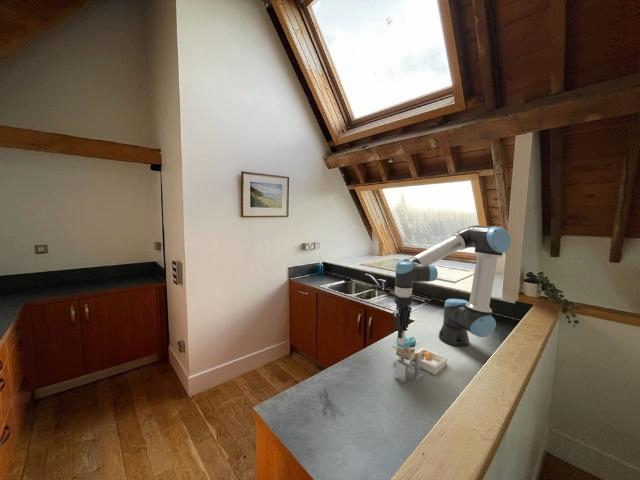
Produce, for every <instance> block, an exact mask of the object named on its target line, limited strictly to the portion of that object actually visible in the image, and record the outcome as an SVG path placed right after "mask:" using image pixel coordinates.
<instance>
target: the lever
mask: <svg viewBox="0 0 640 480" xmlns="http://www.w3.org/2000/svg"><path fill="white" fill-rule="evenodd" d="M391 348H393V349H396V352H395V355H396V356H398V357H399V356H400V357H402V358H404V360H406V361H410V360H417V359H418V358H419V359H421V360H424V356H425V354H424V353H415V352H416V349H415V348H408V349H404V348H401V347H399V346H397V345H392V346H391Z"/></svg>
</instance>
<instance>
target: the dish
mask: <svg viewBox="0 0 640 480" xmlns="http://www.w3.org/2000/svg"><path fill="white" fill-rule="evenodd" d="M425 352H430V353H431V358H430V359H427V358H425V356H424V360H421V362H420V370H423V371H426V372H428V373H430V374H432V375H434V376H436V375H437V374H438V373H439V372H441V371H442V370H443V369H444V368H446V366H448V357H447V356H444V355H441V354H438V353H436V352H435V351H432V350H430V349H428V348H424V347H421V348H420V349H419V350H417V351H414V353H425ZM409 363H410V364H411V365H413V366H415V362H413V361H411V360H409Z"/></svg>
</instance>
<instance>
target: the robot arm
mask: <svg viewBox="0 0 640 480" xmlns="http://www.w3.org/2000/svg"><path fill="white" fill-rule="evenodd" d="M511 245H512V237H511V234H510V233H509V232H508V230H507V229H505V228H503V227H500V226H495V225H494V226H492V225H491V226H490V225H489V226H488V225H471V226H468V227H465V228H462V229H461V230H458V231H456V232H454V233H452V234H451V236H450V237H448V238H447V239H445V240H443V241H441V242H439V243H437V244H435V245H434V246H431V247H430V248H427V249H426V250H424V251H421V252H420V253H418V254H416V255H414V256H412V257H411V258H409V259H408V258H402V259H399V260H398V262H396V265H395V270H394V271H395V279H394V280H395V282H394V283H395V286H394V303H395V304H396V307H395V311H393V312H392V316H393V323H394V330H395V331H396V332H397V336H398V343H399V344H401V345H404V342H405V337H406V332H408V327H409V322H410V319H411V313H412V312H411V311H413V310H412V308H413V307H411V305H412V303H413V302H412V301H413V300H412V298H413V296H412V295H413V283H425V282H427V283H429V282H435V281H436V280H437V278H438V274H439V273H438V269H437V267H436V266H435V265H432V264H434V263H436V262H438V261H440V260H442V259H444V258H446V257H447V256H450V255H451V254H453V253H455V252H457V251H463V250H465V249H467V248H474V253H475V255H476V261H475V266H474V267H475V268H474V272H473V279H472V284H471V288H470V289H471V290H470V296H469V301H468V300H466V299H462V298H461V299H459V298H447V299H446V300H445V301H444V308H443V320H442V321H443V323H442V325H441V328H440V330H439V332H438V338H439V340H440V341H441V342H443V343H445V344H447V345H450V346H453V347H467V346H469V344H470V337H469V333H471V334H472V335H474V336H476V337H479V338H485V337H486V338H487V337H488V336H489V335H491V334H492V333H493V332H494V331H495V330H496V329H495V328H496V325H497V322H496V319H495V318H494V317H493V316H492V314H493V310H492V308H491V307H490V305H491V299H492V298H491V297H492V293H493V288H494V282H495V277H496V276H495V275H496V270H497V265H498V264H497V263H498V260H499V258H502V257H503V253H505V252H507V251H508V250H509V249H510V248H511ZM468 332H469V333H468Z"/></svg>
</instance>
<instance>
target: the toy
mask: <svg viewBox="0 0 640 480" xmlns="http://www.w3.org/2000/svg"><path fill="white" fill-rule="evenodd" d="M396 341H397V342H396V343H397V344H396V346H399V347H401V348H404V349H410V347H411V346H414V345H415V344H416V343H417V340H416V339H415V337H414V336H409V337H406V336H405V342H404V345H401V344H399V343H398V335H397V336H396Z"/></svg>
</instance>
